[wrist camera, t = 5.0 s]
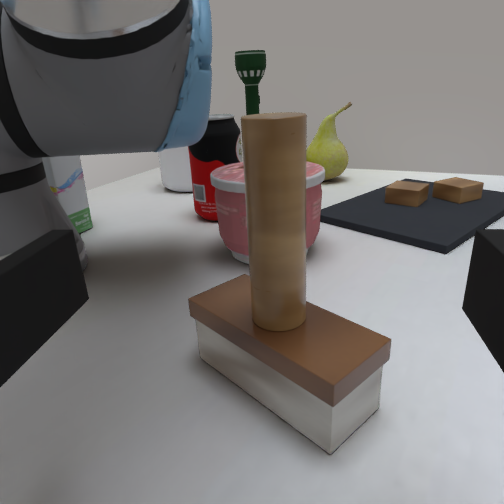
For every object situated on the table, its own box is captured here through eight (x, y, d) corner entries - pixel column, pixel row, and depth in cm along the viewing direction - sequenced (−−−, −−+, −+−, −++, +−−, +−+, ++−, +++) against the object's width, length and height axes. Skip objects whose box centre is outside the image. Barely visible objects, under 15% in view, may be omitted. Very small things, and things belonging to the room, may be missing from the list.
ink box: (9, 236, 48) (-22, 133, 44) (42, 222, 53) (17, 127, 48) (66, 241, 46) (40, 132, 41) (97, 226, 50) (76, 126, 46)
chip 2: (431, 197, 52) (433, 181, 51) (453, 192, 54) (455, 177, 53) (459, 204, 49) (461, 187, 48) (481, 198, 50) (484, 182, 49)
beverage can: (218, 226, 48) (208, 119, 43) (185, 216, 52) (173, 118, 47) (255, 213, 52) (250, 114, 47) (222, 205, 56) (215, 113, 51)
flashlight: (274, 173, 73) (271, 49, 66) (249, 177, 71) (242, 50, 64) (261, 168, 78) (256, 52, 70) (237, 172, 76) (229, 53, 68)
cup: (205, 176, 74) (199, 118, 70) (235, 185, 66) (231, 121, 62) (153, 186, 68) (144, 124, 65) (180, 197, 61) (171, 128, 57)
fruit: (315, 174, 71) (316, 101, 66) (356, 177, 67) (360, 100, 62) (296, 182, 66) (296, 104, 62) (339, 187, 62) (343, 103, 57)
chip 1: (384, 202, 51) (385, 187, 50) (395, 195, 53) (397, 180, 53) (417, 207, 48) (419, 190, 47) (427, 199, 51) (429, 183, 50)
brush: (195, 357, 25) (165, 116, 20) (248, 328, 28) (234, 109, 22) (331, 461, 18) (343, 125, 12) (385, 408, 21) (414, 113, 15)
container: (339, 240, 42) (342, 162, 39) (294, 282, 34) (293, 187, 31) (252, 226, 47) (248, 157, 44) (195, 260, 39) (186, 177, 36)
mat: (311, 219, 49) (311, 212, 48) (405, 183, 62) (405, 178, 62) (446, 254, 38) (447, 246, 37) (524, 201, 51) (526, 195, 51)
